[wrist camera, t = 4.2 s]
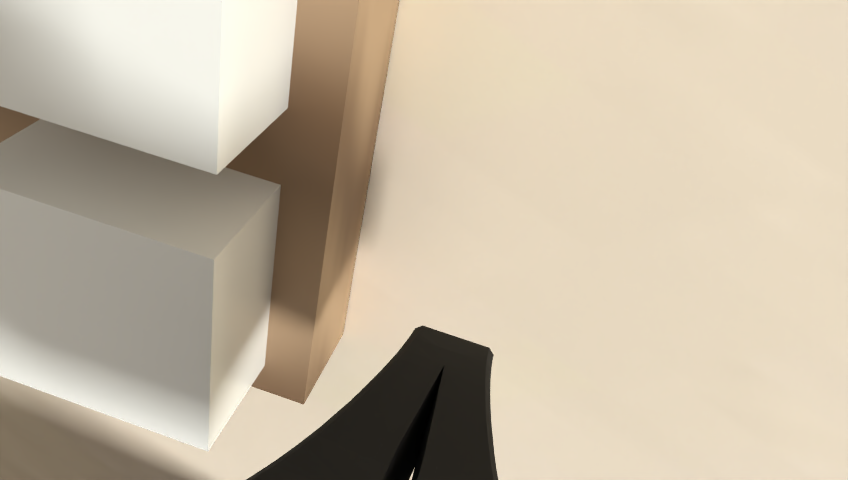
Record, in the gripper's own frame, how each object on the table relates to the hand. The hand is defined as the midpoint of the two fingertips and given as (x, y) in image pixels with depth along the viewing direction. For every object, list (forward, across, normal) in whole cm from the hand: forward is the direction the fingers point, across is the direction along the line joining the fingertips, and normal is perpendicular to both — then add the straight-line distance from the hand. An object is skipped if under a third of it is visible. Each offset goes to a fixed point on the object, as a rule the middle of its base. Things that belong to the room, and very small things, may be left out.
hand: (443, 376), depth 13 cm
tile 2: (+1, +6, 0) cm, 6 cm away
